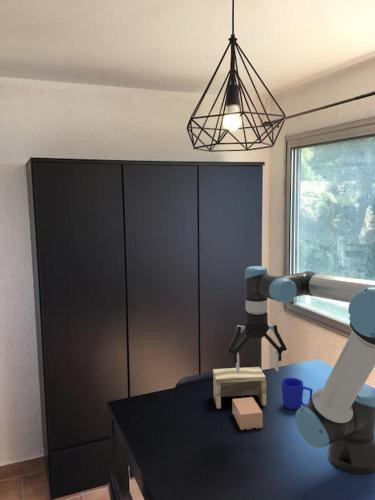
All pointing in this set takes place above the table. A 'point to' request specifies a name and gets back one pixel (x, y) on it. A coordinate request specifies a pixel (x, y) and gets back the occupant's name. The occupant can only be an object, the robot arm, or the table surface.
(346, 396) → the robot arm
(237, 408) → the tan brown block
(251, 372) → the shelf nook
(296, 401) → the mug
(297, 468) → the table surface
